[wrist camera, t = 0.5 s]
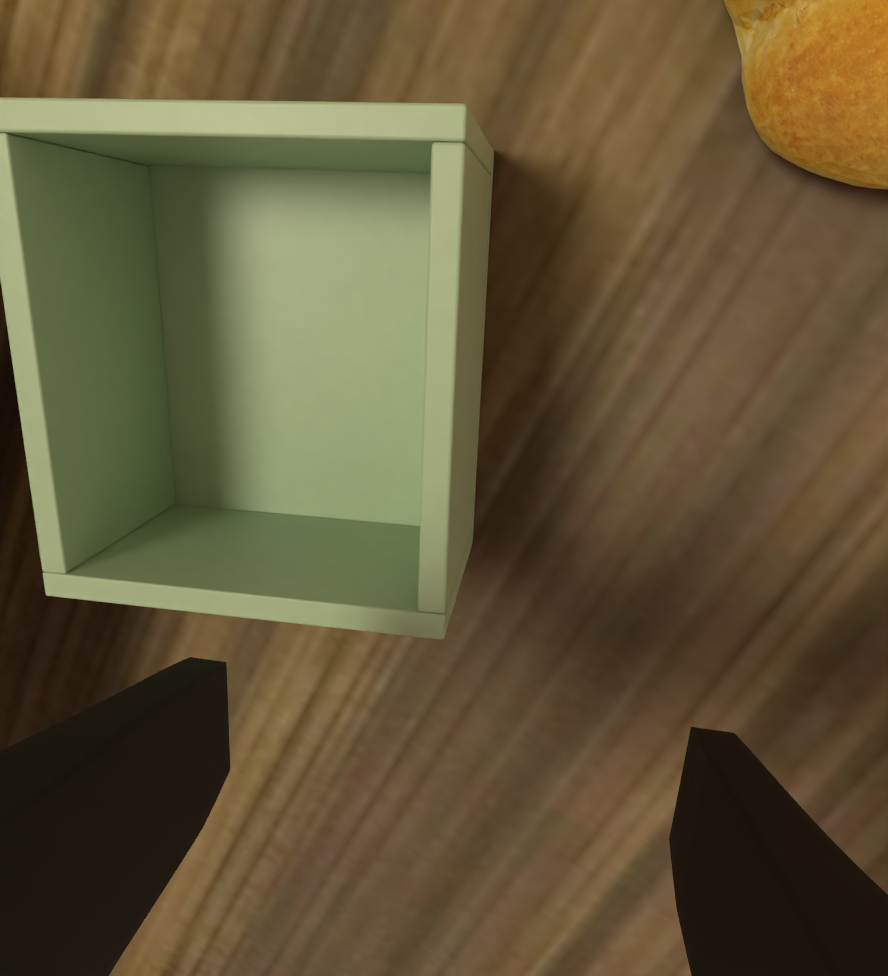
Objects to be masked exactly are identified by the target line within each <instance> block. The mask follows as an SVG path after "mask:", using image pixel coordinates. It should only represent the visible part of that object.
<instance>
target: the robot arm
mask: <svg viewBox="0 0 888 976" xmlns="http://www.w3.org/2000/svg"><path fill="white" fill-rule="evenodd" d="M229 771H230V752H229V725H228V697H227V670H226V662H221V661H213V660H206V659H199V658H192V657H190V658H188V659H185V660H183V661H181V662H178V663H176V664H174V665H172V666H170V667H168V668H166V669H164V670H162V671H160V672H158V673H156V674H154V675H152V676H150V677H148V678H146V679H144V680H142V681H141V682H139V683H137V684H135V685H133V686H131V687H129V688H127V689H125V690H123V691H121V692H120V693H118V694H116V695H114V696H112V697H110V698H108V699H106V700H104V701H102V702H100V703H98V704H96V705H94V706H93V707H91V708H89V709H87V710H85V711H83V712H81V713H79V714H77V715H75V716H73V717H71V718H69V719H67V720H65V721H63V722H61V723H59V724H57V725H54V726H52V727H50V728H48V729H46V730H44V731H42V732H40V733H38V734H35V735H33V736H31V737H29V738H27V739H25V740H23V741H21V742H19V743H16V744H14V745H12V746H10V747H8V748H6V749H4V750H2V751H0V976H109V974H110V973H111V971H112V969H113V968H114V966H115V964H116V963H117V961H118V960H119V958H120V957H121V955H122V953H123V952H124V950H125V949H126V947H127V946H128V944H129V943H130V941H131V939H132V938H133V936H134V935H135V933H136V932H137V930H138V929H139V927H140V925H141V924H142V922H143V921H144V919H145V918H146V916H147V915H148V913H149V912H150V910H151V908H152V907H153V905H154V904H155V902H156V901H157V899H158V898H159V896H160V894H161V893H162V891H163V890H164V888H165V887H166V885H167V884H168V882H169V880H170V879H171V877H172V876H173V874H174V873H175V871H176V870H177V868H178V866H179V865H180V863H181V862H182V860H183V858H184V857H185V855H186V854H187V852H188V851H189V849H190V847H191V846H192V844H193V843H194V841H195V839H196V838H197V836H198V835H199V833H200V831H201V830H202V828H203V826H204V824H205V822H206V820H207V818H208V816H209V814H210V812H211V810H212V808H213V806H214V804H215V802H216V799H217V797H218V795H219V793H220V791H221V788H222V786H223V784H224V782H225V780H226V777H227V775H228V773H229ZM669 841H670V851H671V861H672V871H673V881H674V889H675V898H676V906H677V912H678V917H679V921H680V926H681V930H682V935H683V939H684V944H685V948H686V953H687V957H688V961H689V966H690V970H691V975H692V976H888V895H887V894H886V893H885V892H884V891H883V890H882V889H881V888H880V887H879V886H878V885H877V884H876V883H875V882H874V881H872V880H871V879H870V878H869V877H868V876H867V875H866V874H865V873H864V872H863V871H862V870H861V869H860V868H859V867H858V866H857V865H856V864H855V863H854V862H853V861H852V860H851V859H850V858H849V857H848V856H847V855H846V854H845V853H844V852H843V851H842V850H841V849H840V848H839V847H838V846H837V845H836V844H835V843H834V842H833V841H832V840H831V839H830V838H829V837H828V836H827V834H826V833H825V832H824V831H823V830H822V829H821V828H820V827H819V826H818V825H817V824H816V823H815V822H814V821H813V820H812V819H811V817H810V816H809V815H808V814H807V813H806V812H805V811H804V810H803V809H802V808H801V807H800V806H799V804H798V803H797V802H796V801H795V800H794V799H793V798H792V797H791V796H790V795H789V793H788V792H787V791H786V790H785V789H784V788H783V787H782V786H781V784H780V783H779V782H778V781H777V780H776V779H775V778H774V777H773V776H772V774H771V773H770V772H769V771H768V770H767V769H766V768H765V766H764V765H763V764H762V763H761V762H760V761H759V760H758V759H757V757H756V756H755V755H754V754H753V753H752V752H751V751H750V750H749V748H748V747H747V746H746V745H745V744H744V743H743V742H742V741H741V740H740V739H739V737H738V736H737V735H736V734H735V733H731V732H724V731H716V730H709V729H702V728H695V727H691V730H690V735H689V741H688V746H687V751H686V756H685V761H684V766H683V771H682V776H681V782H680V787H679V792H678V797H677V802H676V807H675V812H674V818H673V823H672V828H671V833H670V838H669Z"/></svg>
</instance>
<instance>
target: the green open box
mask: <svg viewBox="0 0 888 976" xmlns="http://www.w3.org/2000/svg"><path fill="white" fill-rule="evenodd" d="M493 164H494V150H493V148H492V147H491V145H490V144H489V142H488V140H487V139H486V137H485V135H484V134H483V132H482V130H481V129H480V127H479V125H478V123H477V122H476V120H475V118H474V117H473V115H472V113H471V112H470V110H469V108H468V106H467V105H466V104H464V103H400V102H324V101H248V100H171V99H95V98H19V97H0V281H1V288H2V295H3V302H4V309H5V316H6V323H7V330H8V337H9V344H10V350H11V357H12V364H13V371H14V378H15V385H16V392H17V399H18V406H19V413H20V420H21V427H22V434H23V441H24V447H25V454H26V461H27V468H28V475H29V482H30V489H31V496H32V503H33V510H34V517H35V524H36V531H37V538H38V544H39V551H40V558H41V565H42V570H43V571H44V572H43V580H44V587H45V594H46V595H47V596H54V597H63V598H72V599H81V600H90V601H99V602H108V603H117V604H126V605H135V606H144V607H153V608H162V609H171V610H180V611H189V612H198V613H207V614H216V615H225V616H234V617H243V618H252V619H261V620H270V621H279V622H288V623H297V624H305V625H314V626H323V627H332V628H341V629H350V630H359V631H368V632H377V633H386V634H395V635H404V636H413V637H422V638H431V639H440V640H442V639H444V637H445V633H446V630H447V627H448V623H449V620H450V617H451V613H452V610H453V607H454V603H455V600H456V597H457V593H458V590H459V587H460V583H461V580H462V577H463V573H464V570H465V567H466V564H467V560H468V557H469V554H470V550H471V547H472V543H473V527H474V509H475V491H476V473H477V455H478V436H479V418H480V400H481V382H482V364H483V346H484V327H485V309H486V291H487V273H488V255H489V237H490V219H491V200H492V182H493Z"/></svg>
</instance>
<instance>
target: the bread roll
mask: <svg viewBox="0 0 888 976" xmlns="http://www.w3.org/2000/svg"><path fill="white" fill-rule="evenodd" d="M724 3H725V6H726V9H727V11H728V13H729V15H730V17H731V19H732V22H733V24H734V28H735V32H736V37H737V41H738V45H739V49H740V53H741V56H742V83H743V89H744V94H745V100H746V105H747V110H748V112H749V115H750V117H751V120H752V122H753V124H754V126H755V128H756V130H757V132H758V134H759V136H760V138H761V140H762V141H763V142H764V143H765V144H766V145H767V146H768V147H769V148H770V149H771V150H772V151H773V152H774V153H776V154H777V155H779V156H781V157H782V158H784V159H785V160H787V161H789V162H791V163H793V164H795V165H797V166H799V167H801V168H803V169H805V170H807V171H809V172H812V173H815V174H817V175H820V176H823V177H826V178H830V179H833V180H837V181H840V182H844V183H847V184H850V185H853V186H859V187H866V188H873V189H888V0H724Z"/></svg>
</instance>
